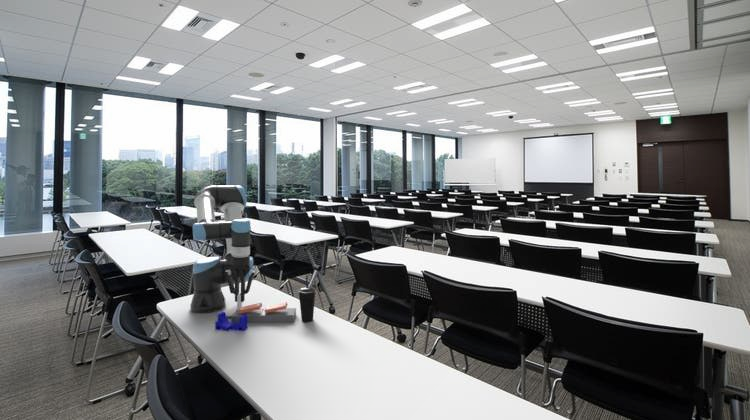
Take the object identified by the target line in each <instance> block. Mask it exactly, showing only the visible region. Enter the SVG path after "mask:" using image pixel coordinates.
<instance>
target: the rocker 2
mask: <svg viewBox="0 0 750 420" xmlns="http://www.w3.org/2000/svg"><path fill="white" fill-rule="evenodd" d="M286 308H288V302H287V301H286V302H282V303H277V304H272V305H268V306H266V307H265V308H264V309H265V313H269V312H274V311H278V310H283V309H286Z"/></svg>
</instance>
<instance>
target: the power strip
mask: <svg viewBox="0 0 750 420" xmlns="http://www.w3.org/2000/svg"><path fill="white" fill-rule="evenodd" d="M265 309H266V308H260V309H259V310H254V311H250V312H246V313H241V314H239V312H238V311H239V310H237V309H236V310H235V311H234V312H233V313H232V315H226V317H227V318H228V320H230V322H232V323H235V324H237V323H238V322H239V317H240V316H242V315H244V314H246V315H247V324H277V323H278V324H279V323H280V324H284V323H294V322H295V320H296V316H297V308H296V307H289V308H288V307H286V309H283V310H278V311H274V312H269V313H265Z"/></svg>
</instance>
